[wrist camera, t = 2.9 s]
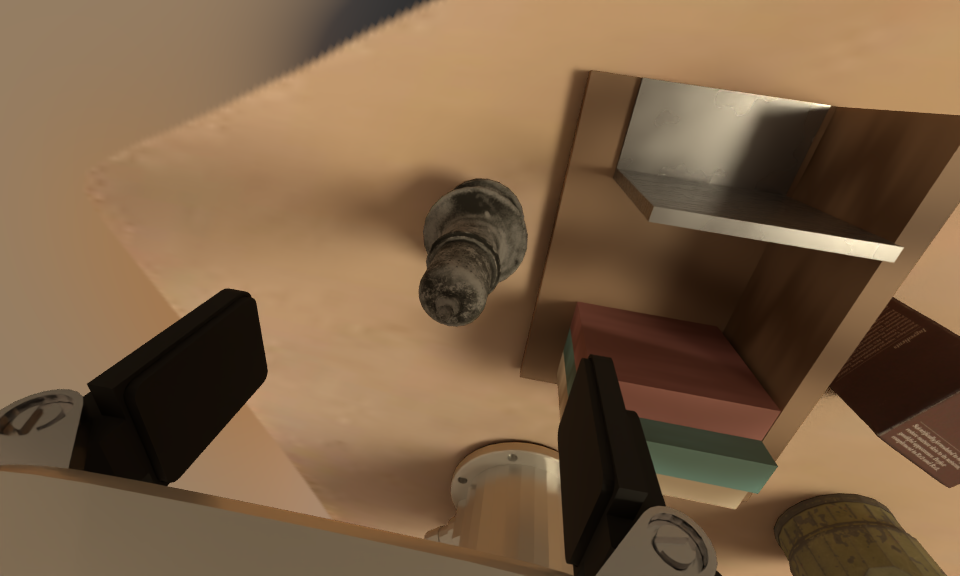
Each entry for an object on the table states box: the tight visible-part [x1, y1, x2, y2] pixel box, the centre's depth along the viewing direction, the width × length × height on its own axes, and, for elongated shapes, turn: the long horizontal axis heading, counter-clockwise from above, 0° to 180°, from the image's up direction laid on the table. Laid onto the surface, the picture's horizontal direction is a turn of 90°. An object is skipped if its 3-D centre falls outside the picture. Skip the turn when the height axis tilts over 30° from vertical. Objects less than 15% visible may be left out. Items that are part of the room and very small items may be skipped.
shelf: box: [520, 70, 960, 509], centre depth 21 cm, size 20×13×10 cm, turn 172°
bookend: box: [613, 78, 904, 263], centre depth 17 cm, size 5×9×8 cm, turn 82°
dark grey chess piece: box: [419, 179, 528, 327], centre depth 20 cm, size 6×6×12 cm
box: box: [829, 297, 960, 488], centre depth 23 cm, size 6×6×7 cm
